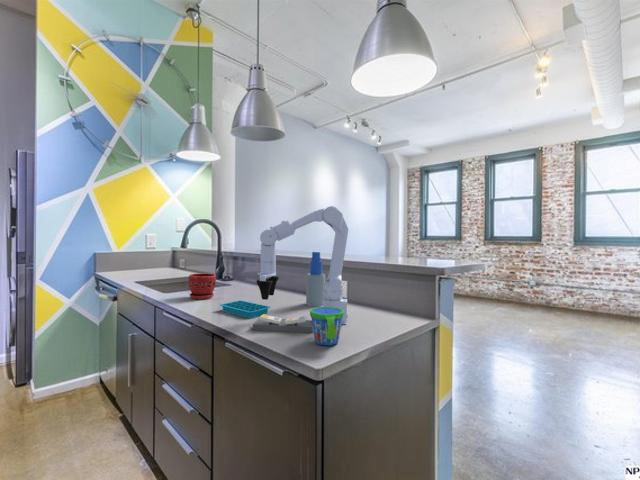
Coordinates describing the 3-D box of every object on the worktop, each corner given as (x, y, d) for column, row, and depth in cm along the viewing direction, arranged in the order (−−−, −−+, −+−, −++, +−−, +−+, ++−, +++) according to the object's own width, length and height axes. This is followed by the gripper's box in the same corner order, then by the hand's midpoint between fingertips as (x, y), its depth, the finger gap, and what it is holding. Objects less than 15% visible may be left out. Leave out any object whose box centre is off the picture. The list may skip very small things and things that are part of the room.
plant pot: (199, 301, 152) (199, 277, 152) (183, 298, 160) (183, 274, 159) (221, 297, 163) (221, 274, 163) (205, 294, 171) (205, 272, 170)
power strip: (314, 325, 116) (314, 318, 116) (311, 332, 108) (312, 324, 108) (259, 323, 118) (259, 315, 118) (252, 329, 110) (252, 321, 110)
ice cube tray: (240, 306, 145) (240, 300, 145) (271, 313, 133) (271, 306, 133) (218, 311, 136) (218, 304, 135) (250, 320, 124) (250, 312, 123)
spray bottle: (302, 304, 149) (302, 251, 148) (313, 301, 156) (314, 251, 156) (317, 307, 144) (318, 252, 143) (328, 304, 151) (329, 251, 150)
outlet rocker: (281, 321, 113) (281, 318, 113) (278, 324, 109) (279, 321, 109) (262, 316, 114) (263, 313, 114) (259, 319, 110) (260, 316, 110)
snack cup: (309, 334, 106) (309, 304, 106) (340, 334, 107) (340, 304, 107) (309, 351, 91) (310, 316, 91) (346, 351, 91) (346, 316, 91)
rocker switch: (306, 318, 112) (306, 315, 112) (305, 321, 108) (304, 318, 108) (287, 321, 113) (287, 318, 113) (285, 324, 109) (284, 321, 109)
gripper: (263, 259, 127) (263, 293, 128) (251, 263, 113) (251, 300, 113) (280, 260, 126) (280, 293, 127) (270, 263, 112) (270, 301, 112)
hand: (268, 297), depth 120 cm, fingers open, 7 cm apart
